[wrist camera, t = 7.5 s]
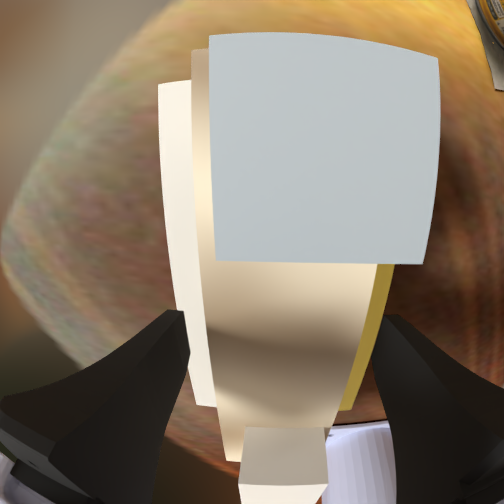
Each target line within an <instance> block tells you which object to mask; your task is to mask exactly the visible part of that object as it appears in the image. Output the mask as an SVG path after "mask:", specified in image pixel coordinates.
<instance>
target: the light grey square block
mask: <svg viewBox="0 0 504 504" xmlns="http://www.w3.org/2000/svg"><path fill="white" fill-rule="evenodd" d="M209 118H210V155H211V181H212V203H213V222H214V239H215V255H216V261H247V262H295V263H356V264H423V260H424V256H425V251H426V246H427V241H428V236H429V231H430V225H431V219H432V213H433V206H434V199H435V191H436V182H437V172H438V160H439V145H440V82H439V67H438V58H436V57H432V56H429V55H426V54H422V53H419V52H415V51H412V50H408V49H404V48H400V47H395V46H391V45H386V44H382V43H377V42H371V41H366V40H360V39H353V38H346V37H338V36H329V35H319V34H305V33H280V32H261V33H235V34H222V35H211V36H209Z"/></svg>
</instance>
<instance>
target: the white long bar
mask: <svg viewBox="0 0 504 504" xmlns="http://www.w3.org/2000/svg"><path fill="white" fill-rule="evenodd" d="M191 119H192V155H193V179H194V198H195V214H196V229H197V242H198V254H199V266H200V277H201V287H202V297H203V306H204V315H205V324H206V332H207V340H208V348H209V356H210V363H211V370H212V377H213V384H214V391H215V397H216V403H217V410H218V416H219V422H220V427H221V433H222V439H223V444H224V450H225V455H226V460H227V461H237V462H241V458H242V449H243V441H244V433H245V427H266V428H312V427H324V434H325V442H326V440H327V437H328V435H329V432H330V430H331V427H332V425H333V422H334V420H335V417H336V414H337V411H338V409H339V406H340V403H341V400H342V397H343V395H344V392H345V389H346V386H347V383H348V379H349V376H350V373H351V370H352V367H353V363H354V360H355V357H356V353H357V350H358V346H359V343H360V339H361V335H362V331H363V328H364V324H365V320H366V316H367V311H368V307H369V303H370V298H371V294H372V289H373V284H374V279H375V274H376V269H377V264H356V263H295V262H247V261H216V255H215V239H214V222H213V203H212V181H211V155H210V118H209V48H207V49H198V50H192V56H191Z"/></svg>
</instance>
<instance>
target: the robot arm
mask: <svg viewBox="0 0 504 504" xmlns="http://www.w3.org/2000/svg"><path fill="white" fill-rule="evenodd" d="M190 354H191V351H190V346H189V340H188V334H187V328H186V322H185V316H184V311H180V310H167V311H165V312H164V313H163V314H161V315H160V316H159V317H158V318H156V319H155V320H154V321H153V322H151V323H150V324H149V325H148V326H146V327H145V328H144V329H143V330H141V331H140V332H139V333H138V334H136V335H135V336H134V337H133V338H131V339H130V340H129V341H127V342H126V343H124V344H123V345H122V346H120V347H119V348H117V349H116V350H114V351H113V352H112V353H110V354H109V355H107V356H106V357H104V358H102V359H101V360H99V361H98V362H96V363H94V364H92V365H91V366H89V367H87V368H85V369H83V370H81V371H79V372H77V373H75V374H73V375H70V376H68V377H66V378H64V379H62V380H59V381H57V382H54V383H52V384H49V385H46V386H43V387H40V388H37V389H33V390H30V391H25V392H22V393H17V394H12V395H7V396H4V397H3V398H2V400H1V401H0V441H1V442H2V443H3V444H4V445H5V446H6V447H7V448H8V449H9V450H10V451H11V452H12V453H13V454H14V455H15V456H16V457H17V458H18V459H17V461H16V463H14V462H12V461H11V460H10V459H9V458H7V457H6V456H5V455H3V454H2V453H0V504H152V496H153V488H154V482H155V475H156V469H157V465H158V460H159V455H160V450H161V446H162V441H163V437H164V433H165V430H166V426H167V423H168V420H169V418H170V415H171V413H172V410H173V407H174V405H175V402H176V399H177V397H178V394H179V392H180V389H181V386H182V384H183V381H184V378H185V375H186V371H187V367H188V363H189V358H190ZM371 359H372V365H373V371H374V376H375V380H376V384H377V387H378V390H379V393H380V397H381V400H382V403H383V406H384V410H385V413H386V416H387V421H380V422H372V423H364V424H354V425H342V426H332V427H331V430H330V432H329V435H328V437H327V440H326V442H325V445H326V456H327V468H328V482H329V484H328V485H327V487H326V488H325V490H324V491H323V493H322V504H504V389H503V388H501V387H499V386H497V385H495V384H493V383H491V382H489V381H487V380H485V379H483V378H482V377H480V376H478V375H477V374H475V373H473V372H472V371H470V370H469V369H467V368H465V367H464V366H463V365H461V364H460V363H458V362H457V361H455V360H454V359H453V358H451V357H450V356H449V355H447V354H446V353H445V352H444V351H442V350H441V349H440V348H439V347H437V346H436V345H435V344H434V343H432V342H431V341H430V340H429V339H428V338H426V337H425V336H424V335H423V334H422V333H421V332H419V331H418V330H417V329H416V328H415V327H413V326H412V325H411V324H410V323H409V322H407V321H406V320H405V319H403V318H402V317H401V316H399V315H383V319H382V322H381V326H380V329H379V333H378V336H377V339H376V343H375V346H374V349H373V352H372V355H371Z"/></svg>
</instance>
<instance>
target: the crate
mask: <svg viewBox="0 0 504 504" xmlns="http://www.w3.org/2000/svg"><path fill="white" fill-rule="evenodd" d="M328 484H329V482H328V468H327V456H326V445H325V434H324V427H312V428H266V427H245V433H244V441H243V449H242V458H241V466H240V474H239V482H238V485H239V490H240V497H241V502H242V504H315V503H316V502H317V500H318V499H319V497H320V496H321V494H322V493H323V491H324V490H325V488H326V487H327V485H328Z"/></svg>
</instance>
